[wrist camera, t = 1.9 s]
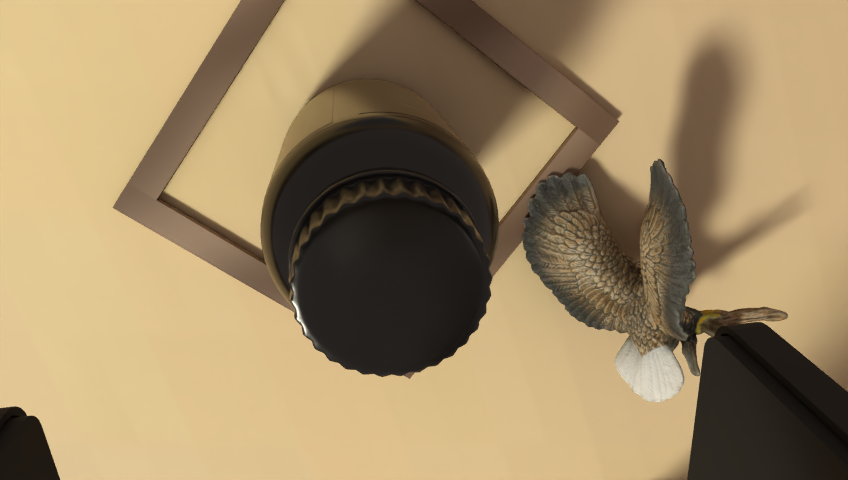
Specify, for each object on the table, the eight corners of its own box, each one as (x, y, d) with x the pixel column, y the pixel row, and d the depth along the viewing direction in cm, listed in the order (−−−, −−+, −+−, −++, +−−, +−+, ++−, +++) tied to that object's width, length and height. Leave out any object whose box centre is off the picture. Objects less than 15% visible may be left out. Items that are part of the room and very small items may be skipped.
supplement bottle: (375, 273, 28) (394, 462, 17) (247, 168, 26) (171, 307, 15) (489, 156, 27) (591, 279, 16) (364, 35, 24) (379, 77, 13)
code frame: (616, 119, 27) (619, 121, 27) (409, 375, 30) (409, 378, 30) (318, -124, 23) (318, -125, 22) (115, 205, 26) (112, 207, 26)
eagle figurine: (771, 236, 28) (671, 106, 24) (804, 390, 24) (689, 268, 19) (613, 286, 33) (502, 186, 28) (617, 422, 29) (487, 331, 24)
